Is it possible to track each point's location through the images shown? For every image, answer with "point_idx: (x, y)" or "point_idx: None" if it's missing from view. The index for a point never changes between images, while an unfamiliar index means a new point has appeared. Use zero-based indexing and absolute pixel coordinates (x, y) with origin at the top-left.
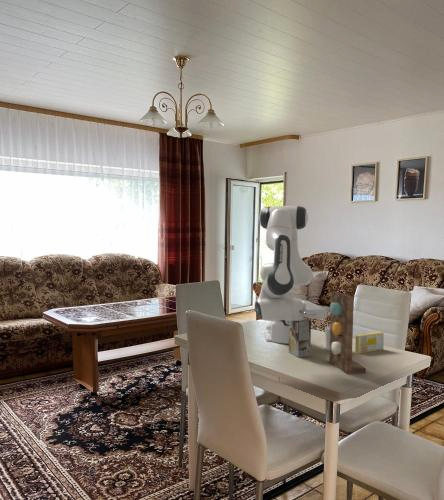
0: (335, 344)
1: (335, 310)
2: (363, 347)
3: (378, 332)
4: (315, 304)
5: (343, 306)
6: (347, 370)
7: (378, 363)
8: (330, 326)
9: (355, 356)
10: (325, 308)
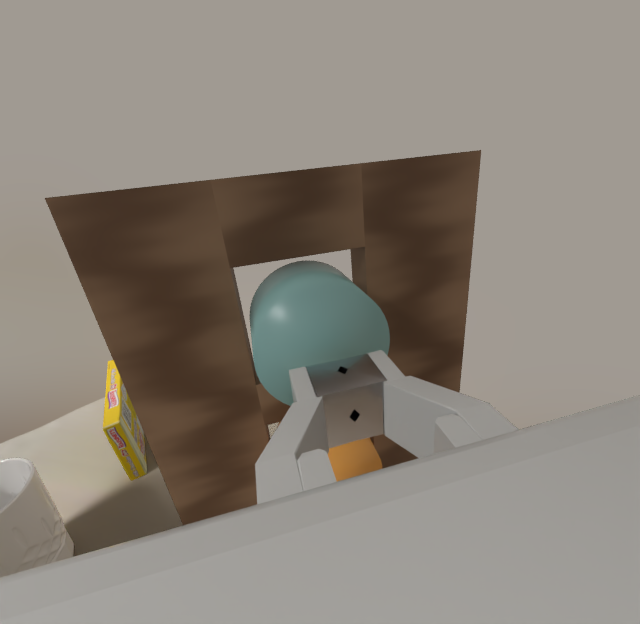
0: None
1: (388, 339)
2: (139, 440)
3: (109, 366)
4: (385, 501)
5: (380, 271)
6: None
7: (273, 432)
8: (176, 506)
9: None
10: (427, 390)
